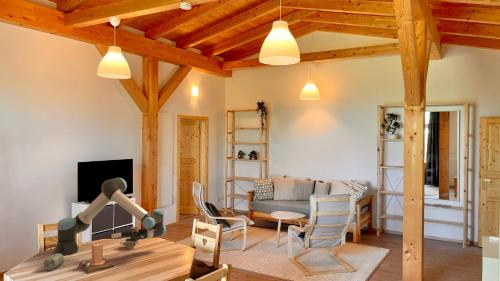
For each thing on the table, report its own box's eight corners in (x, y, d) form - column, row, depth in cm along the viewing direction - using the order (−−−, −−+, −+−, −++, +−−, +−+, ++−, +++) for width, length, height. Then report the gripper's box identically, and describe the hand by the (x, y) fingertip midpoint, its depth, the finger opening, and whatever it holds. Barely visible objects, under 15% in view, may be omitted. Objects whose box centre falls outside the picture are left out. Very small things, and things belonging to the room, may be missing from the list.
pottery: (142, 240, 290) (142, 226, 290) (136, 250, 265) (136, 234, 265) (128, 241, 288) (128, 226, 288) (120, 251, 264) (120, 234, 263)
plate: (78, 266, 231) (78, 264, 231) (103, 260, 243) (103, 258, 243) (88, 273, 220) (88, 271, 220) (113, 267, 231) (113, 264, 231)
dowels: (81, 265, 229) (81, 260, 229) (85, 264, 230) (85, 260, 230) (86, 269, 223) (86, 264, 223) (90, 268, 225) (90, 263, 225)
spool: (54, 267, 220) (51, 251, 223) (41, 273, 221) (38, 257, 224) (70, 265, 233) (66, 250, 236) (57, 271, 234) (53, 256, 237)
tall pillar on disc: (87, 264, 232) (87, 244, 231) (101, 260, 238) (101, 241, 238) (92, 267, 225) (93, 247, 225) (107, 264, 232) (107, 245, 231)
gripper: (154, 242, 246) (124, 248, 231) (136, 234, 264) (108, 239, 249) (154, 231, 246) (125, 237, 231) (137, 224, 264) (108, 228, 249)
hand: (116, 238), depth 240 cm, fingers open, 13 cm apart
